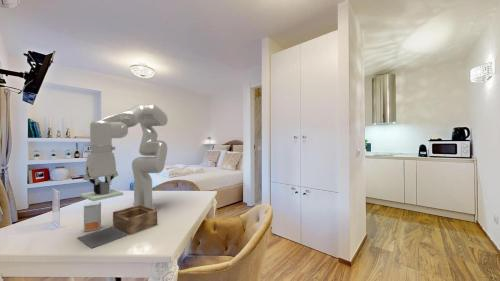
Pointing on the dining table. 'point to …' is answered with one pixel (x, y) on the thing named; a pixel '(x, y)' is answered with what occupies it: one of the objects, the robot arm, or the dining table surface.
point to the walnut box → (134, 219)
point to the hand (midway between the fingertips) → (101, 192)
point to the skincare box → (92, 216)
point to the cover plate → (99, 197)
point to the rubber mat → (101, 237)
